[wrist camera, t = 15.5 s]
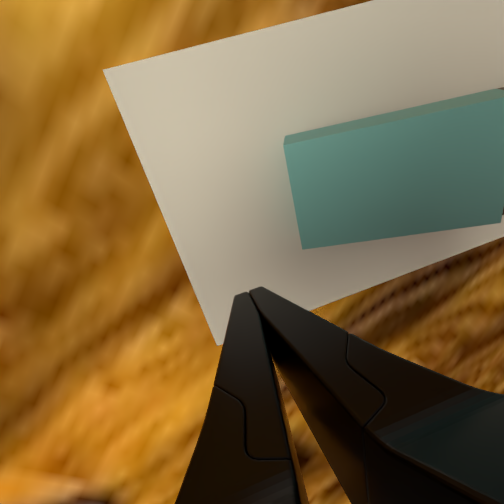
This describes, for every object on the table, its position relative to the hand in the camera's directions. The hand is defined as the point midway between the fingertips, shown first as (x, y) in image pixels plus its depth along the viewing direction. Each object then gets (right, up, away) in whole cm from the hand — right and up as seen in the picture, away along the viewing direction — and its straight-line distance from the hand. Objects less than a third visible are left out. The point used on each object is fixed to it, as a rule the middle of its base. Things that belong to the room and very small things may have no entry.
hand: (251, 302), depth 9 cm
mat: (+9, +7, +7) cm, 14 cm away
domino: (+2, +4, +5) cm, 7 cm away
